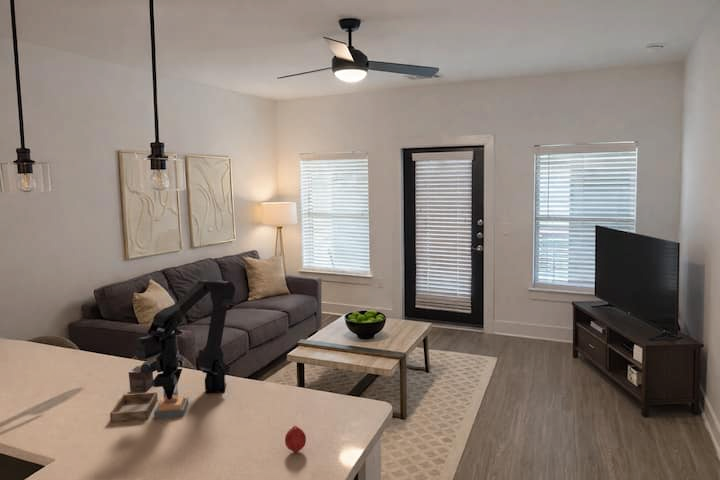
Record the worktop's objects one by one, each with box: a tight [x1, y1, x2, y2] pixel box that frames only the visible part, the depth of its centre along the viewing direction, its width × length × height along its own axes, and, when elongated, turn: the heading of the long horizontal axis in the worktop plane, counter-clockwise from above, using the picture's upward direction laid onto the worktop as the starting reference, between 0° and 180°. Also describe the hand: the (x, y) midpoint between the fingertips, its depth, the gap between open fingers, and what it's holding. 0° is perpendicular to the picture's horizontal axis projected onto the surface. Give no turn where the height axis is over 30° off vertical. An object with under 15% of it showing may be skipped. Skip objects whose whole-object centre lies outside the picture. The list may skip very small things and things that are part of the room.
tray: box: [109, 391, 158, 423], centre depth 168 cm, size 11×14×3 cm
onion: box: [284, 425, 307, 454], centre depth 142 cm, size 6×6×8 cm
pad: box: [157, 394, 186, 411], centre depth 168 cm, size 7×7×2 cm
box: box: [128, 365, 154, 393], centre depth 186 cm, size 6×6×7 cm
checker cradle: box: [153, 397, 189, 419], centre depth 168 cm, size 9×9×2 cm
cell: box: [162, 378, 179, 404], centre depth 167 cm, size 4×4×8 cm
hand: (171, 396), depth 168 cm, fingers closed on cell, 4 cm apart
